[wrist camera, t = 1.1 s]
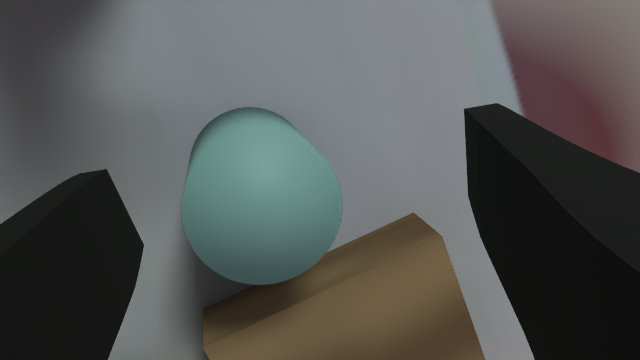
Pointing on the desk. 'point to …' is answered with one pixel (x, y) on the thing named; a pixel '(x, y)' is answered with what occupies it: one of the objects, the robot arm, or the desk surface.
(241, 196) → the teal tapered rounded part
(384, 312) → the block
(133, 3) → the desk surface
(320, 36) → the desk surface
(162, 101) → the desk surface
